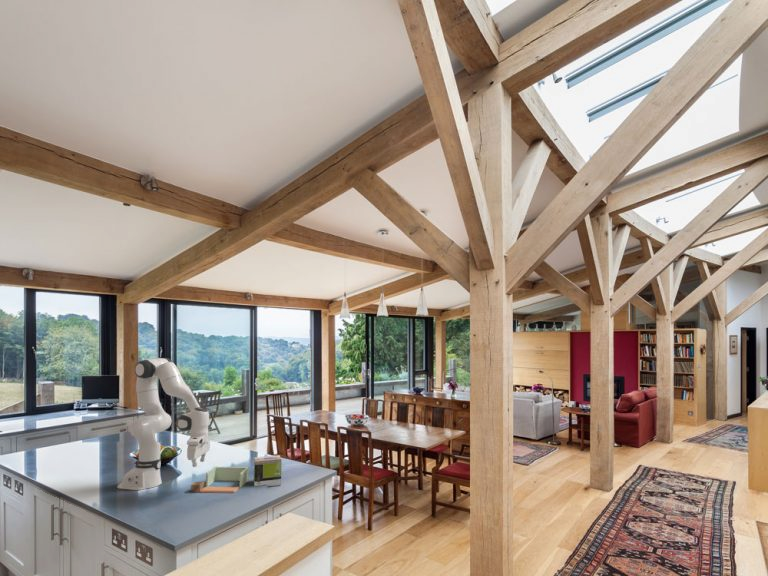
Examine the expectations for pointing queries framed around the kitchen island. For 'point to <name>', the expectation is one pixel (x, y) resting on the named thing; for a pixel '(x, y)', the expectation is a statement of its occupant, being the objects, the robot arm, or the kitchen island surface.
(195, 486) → the walnut block
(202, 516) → the kitchen island surface
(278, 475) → the tea box
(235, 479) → the box
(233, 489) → the board
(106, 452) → the kitchen island surface
